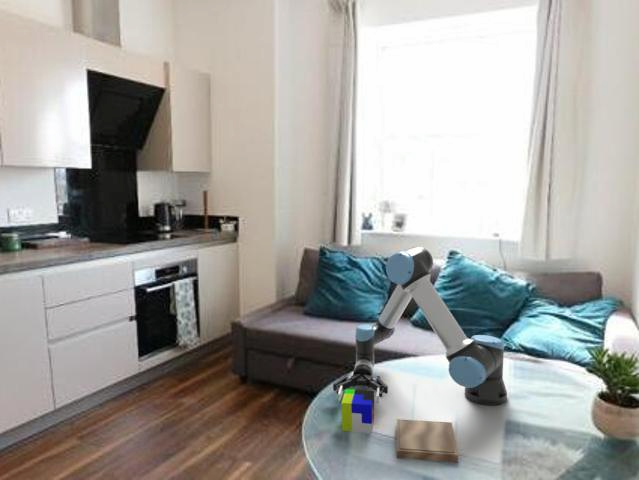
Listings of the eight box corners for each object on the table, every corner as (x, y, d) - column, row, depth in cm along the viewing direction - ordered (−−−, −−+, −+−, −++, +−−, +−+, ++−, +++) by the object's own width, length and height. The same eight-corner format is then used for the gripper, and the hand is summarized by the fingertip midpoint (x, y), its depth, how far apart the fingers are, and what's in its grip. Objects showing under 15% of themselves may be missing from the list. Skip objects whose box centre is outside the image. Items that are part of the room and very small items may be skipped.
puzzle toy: (371, 433, 158) (371, 405, 157) (342, 430, 160) (341, 402, 159) (374, 417, 168) (374, 390, 166) (346, 415, 170) (345, 388, 168)
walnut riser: (451, 429, 159) (451, 421, 158) (458, 462, 141) (458, 454, 141) (396, 426, 162) (396, 418, 161) (396, 458, 144) (396, 449, 144)
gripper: (394, 383, 188) (393, 410, 168) (332, 380, 193) (323, 406, 172) (394, 365, 187) (393, 390, 166) (331, 362, 191) (323, 386, 171)
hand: (358, 398), depth 169 cm, fingers open, 13 cm apart
